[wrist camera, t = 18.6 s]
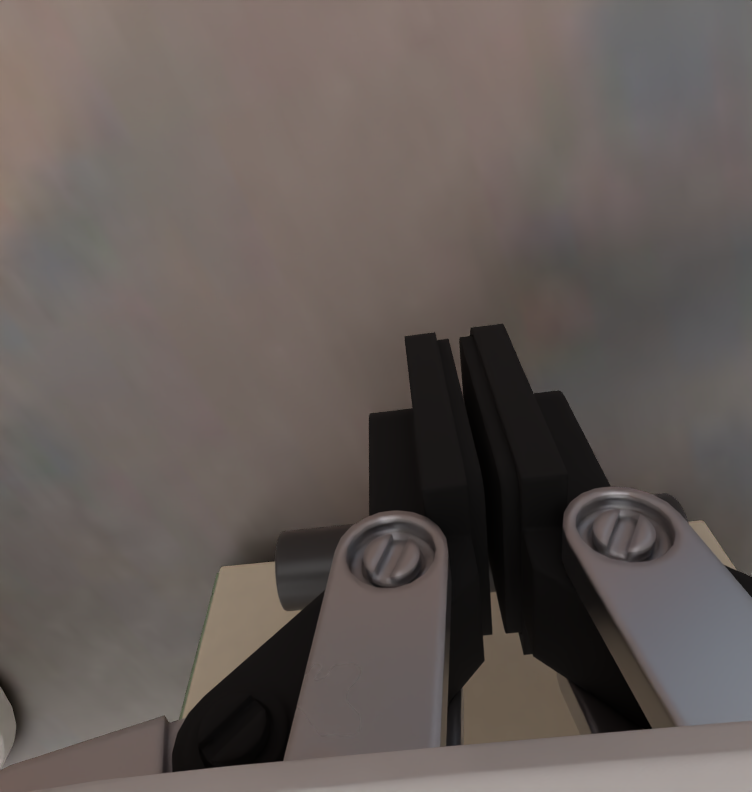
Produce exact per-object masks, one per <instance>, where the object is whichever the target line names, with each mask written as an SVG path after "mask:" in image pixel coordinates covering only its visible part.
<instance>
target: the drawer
mask: <svg viewBox="0 0 752 792" xmlns="http://www.w3.org/2000/svg"><path fill="white" fill-rule="evenodd" d="M654 495H655V496H657V497H658V498H660V499H662V500H664V501H666V502H668V503H669V504H670V505H671V506H672V507H673V508H674V509H675V510H677V511H678V512H679V513H680V514H681V515H682V516H683V518H684V519H685V520H686V521H687V522H688V523H689V525H690V526H691V527H692V528H693V529H694V531H695V532H696V533H697V534H698V535H699V536H700V538H701V539H702V540H703V541H704V542H705V543H706V545H707V546H708V547H709V548H710V549H711V550H712V552H713V553H714V554H715V555H716V556H717V558H718V559H719V560H720V561H721V562H722V563H723V565H726V566H728V567H730V568H732V569H735V570H736V568H735V567H734V565H733V564H732V562H731V561H730V559H729V558H728V556H727V555H726V553H725V552H724V550H723V549H722V547H721V546H720V544H719V543H718V541H717V540H716V539H715V537H714V536H713V534H712V533H711V531H710V530H709V528H708V527H707V525H706V524H705V522H704V521H702V520H698V521H688V520H687V517H686V515H685V512H684V510H683V508H682V507H681V505H680V504H679V502H678V501H677V500H676V499H675V498H674V497H673V496H671V495H669V494H654ZM353 525H354V524H351V525H341V526H331V527H320V528H310V529H300V530H290V531H283V532H281V533H280V535H279V537H278V540H277V545H276V552H275V561H274V562H264V563H253V564H243V565H233V566H223V567H221V568H220V571H219V575H218V579H217V583H216V587H215V591H214V595H213V599H212V603H211V607H210V611H209V614H208V618H207V622H206V626H205V630H204V634H203V638H202V642H201V646H200V650H199V653H198V657H197V661H196V665H195V669H194V673H193V677H192V681H191V685H190V689H189V693H188V696H187V700H186V704H185V708H184V712H183V716H182V719H183V718H186V717H187V715H188V713H189V712H190V711H191V710H192V709H193V708H194V707H195V705H196V704H197V703H198V702H199V701H200V700H201V699H202V698H203V697H204V696H205V695H206V694H207V693H208V692H209V691H210V690H212V689H213V688H214V687H215V686H216V685H217V684H218V683H220V682H221V681H222V680H223V679H224V678H225V677H226V676H228V675H229V674H230V673H231V672H232V671H233V670H234V669H236V668H237V667H238V666H239V665H240V664H241V663H242V662H244V661H245V660H246V659H247V658H248V657H249V656H250V655H251V654H253V653H254V652H255V651H256V650H257V649H258V648H259V647H261V646H262V645H263V644H264V643H265V642H266V641H267V640H269V639H270V638H271V637H272V636H273V635H274V634H275V633H277V632H278V631H279V630H280V629H281V628H282V627H283V626H285V625H286V624H287V623H288V622H289V621H290V620H291V619H292V618H294V617H295V616H296V615H297V614H298V613H299V612H300V611H302V610H303V609H304V608H305V607H306V606H307V605H308V604H310V603H311V602H312V601H313V600H314V599H315V598H316V597H318V596H319V595H320V594H321V593H322V592H323V591H324V590H325V589H326V585H327V581H328V577H329V573H330V569H331V565H332V561H333V557H334V553H335V550H336V547H337V545H338V543H339V541H340V539H341V537H342V536H343V535H344V534H345V533H346V532H347V530H348V529H349V528H350V527H351V526H353ZM488 560H489V559H488ZM489 578H490V596H491V614H492V635H485V636H483V643H484V657H485V661H484V662H483V663H482V665H481V666H480V667H479V668H478V669H477V671H476V672H475V673H474V674H473V675H472V677H471V678H470V679H469V680H468V681H467V683H466V684H465V685H464V686H463V693H464V745H469V744H481V743H492V742H504V741H515V740H527V739H539V738H550V737H562V736H574V735H580V733H579V731H578V728H577V726H576V724H575V722H574V719H573V717H572V715H571V713H570V710H569V708H568V706H567V704H566V701H565V699H564V697H563V695H562V692H561V690H560V687H559V683H558V679H557V672H556V671H554V670H553V669H551V668H550V667H548V666H547V665H545V664H544V663H542V662H541V661H539V660H538V659H536V658H535V657H533V654H530V655H524V654H523V650H522V646H521V642H520V638H519V634H518V633H509V634H506V633H505V630H504V626H503V622H502V618H501V613H500V609H499V604H498V600H497V595H496V590H495V586H494V581H493V577H492V572H491V568H490V563H489Z"/></svg>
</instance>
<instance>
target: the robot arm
mask: <svg viewBox="0 0 752 792" xmlns="http://www.w3.org/2000/svg"><path fill="white" fill-rule="evenodd" d="M404 337H405V346H406V355H407V363H408V372H409V381H410V390H411V398H412V407H413V408H411V409H403V410H395V411H387V412H379V413H371V414H370V415H369V516H368V517H365V518H363V519H362V520H360V521H359V522H357V523H356V524H354V525H353V526H351V527H350V528H349V529H348V530H347V532H346V533H345V534H344V535H343V536H342V537H341V539H340V541H339V543H338V545H337V547H336V550H335V553H334V557H333V561H332V565H331V569H330V573H329V577H328V581H327V585H326V589H325V590H324V591H323V592H322V593H321V594H320V595H319V596H318V597H316V598H315V599H314V600H313V601H312V602H311V603H310V604H308V605H307V606H306V607H305V608H304V609H303V610H302V611H300V612H299V613H298V614H297V615H296V616H295V617H294V618H292V619H291V620H290V621H289V622H288V623H287V624H286V625H285V626H283V627H282V628H281V629H280V630H279V631H278V632H277V633H275V634H274V635H273V636H272V637H271V638H270V639H269V640H267V641H266V642H265V643H264V644H263V645H262V646H261V647H259V648H258V649H257V650H256V651H255V652H254V653H253V654H251V655H250V656H249V657H248V658H247V659H246V660H245V661H244V662H242V663H241V664H240V665H239V666H238V667H237V668H236V669H234V670H233V671H232V672H231V673H230V674H229V675H228V676H226V677H225V678H224V679H223V680H222V681H221V682H220V683H218V684H217V685H216V686H215V687H214V688H213V689H212V690H210V691H209V692H208V693H207V694H206V695H205V696H204V697H203V698H202V699H201V700H200V701H199V702H198V703H197V704H196V705H195V707H194V708H193V709H192V710H191V711H190V712H189V713H188V715H187V717H186V718H183V719H180V720H177V721H174V722H171V723H169V722H168V720H167V718H166V717H165V715H164V716H161V717H158V718H155V719H152V720H149V721H146V722H143V723H140V724H136V725H133V726H130V727H127V728H124V729H121V730H118V731H115V732H112V733H109V734H106V735H103V736H99V737H96V738H93V739H90V740H87V741H84V742H81V743H78V744H75V745H72V746H69V747H66V748H63V749H59V750H56V751H53V752H50V753H47V754H44V755H41V756H38V757H35V758H32V759H29V760H26V761H22V762H19V763H16V764H13V765H10V766H8V767H6V768H4V769H2V767H3V765H4V763H5V761H6V758H7V756H8V754H9V752H10V750H11V748H12V746H13V744H14V739H15V733H16V721H15V717H14V713H13V708H12V706H11V704H10V702H9V701H8V699H7V697H6V695H5V694H4V692H3V690H2V688H1V687H0V792H752V577H750V576H748V575H746V574H744V573H741V572H739V571H737V570H735V569H732V568H730V567H728V566H726V565H723V563H722V562H721V561H720V560H719V559H718V558H717V556H716V555H715V554H714V553H713V552H712V550H711V549H710V548H709V547H708V546H707V545H706V543H705V542H704V541H703V540H702V539H701V538H700V536H699V535H698V534H697V533H696V532H695V531H694V529H693V528H692V527H691V526H690V525H689V523H688V522H687V521H686V520H685V519H684V518H683V516H682V515H681V514H680V513H679V512H678V511H677V510H675V509H674V508H673V507H672V506H671V505H670V504H669V503H668V502H666V501H664V500H662V499H660V498H658V497H657V496H655V495H653V494H651V493H648V492H644V491H641V490H638V489H634V488H627V487H617V486H610V484H609V482H608V480H607V479H606V477H605V475H604V473H603V471H602V469H601V467H600V465H599V463H598V461H597V459H596V457H595V455H594V453H593V451H592V449H591V447H590V445H589V443H588V441H587V439H586V437H585V435H584V433H583V431H582V430H581V428H580V426H579V424H578V422H577V420H576V418H575V416H574V414H573V412H572V410H571V408H570V406H569V404H568V402H567V400H566V398H565V396H564V395H563V393H562V392H561V391H551V392H543V393H535V394H533V391H532V389H531V387H530V384H529V382H528V380H527V377H526V375H525V373H524V371H523V368H522V366H521V364H520V361H519V359H518V357H517V354H516V352H515V350H514V347H513V345H512V343H511V340H510V338H509V336H508V334H507V331H506V329H505V327H504V325H503V324H497V325H489V326H481V327H474V328H471V330H470V336H468V337H460V339H459V344H460V359H461V372H462V386H463V396H462V392H461V387H460V383H459V379H458V375H457V371H456V367H455V363H454V359H453V355H452V351H451V347H450V343H449V339H444V340H437V338H436V334H435V332H434V333H427V334H419V335H412V336H404ZM488 559H489V560H488ZM489 563H490V568H491V572H492V577H493V581H494V586H495V590H496V595H497V600H498V604H499V609H500V613H501V618H502V622H503V626H504V630H505V633H506V634H509V633H518V634H519V638H520V642H521V646H522V650H523V654H524V655H530V654H533V657H535V658H536V659H538V660H539V661H541V662H542V663H544V664H545V665H547V666H548V667H550V668H551V669H553V670H554V671H556V672H557V679H558V683H559V687H560V690H561V692H562V695H563V697H564V699H565V701H566V704H567V706H568V708H569V710H570V713H571V715H572V717H573V719H574V722H575V724H576V726H577V728H578V731H579V733H580V735H574V736H562V737H550V738H539V739H527V740H515V741H504V742H492V743H481V744H469V745H464V693H463V686H464V685H465V684H466V683H467V681H468V680H469V679H470V678H471V677H472V675H473V674H474V673H475V672H476V671H477V669H478V668H479V667H480V666H481V665H482V663H483V662H484V661H485V657H484V643H483V636H485V635H492V614H491V596H490V578H489ZM1 769H2V770H1Z"/></svg>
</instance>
